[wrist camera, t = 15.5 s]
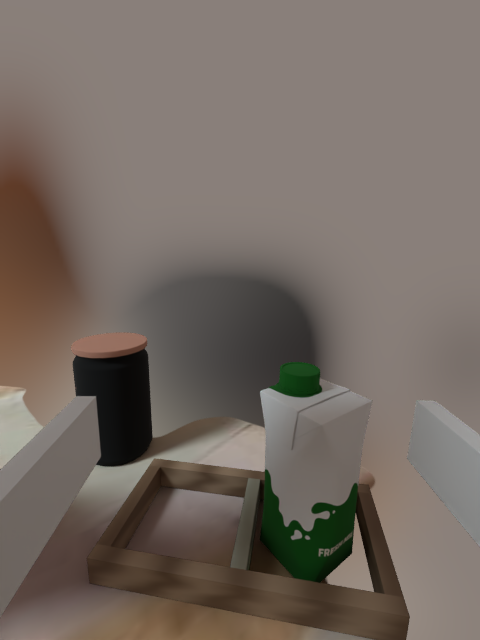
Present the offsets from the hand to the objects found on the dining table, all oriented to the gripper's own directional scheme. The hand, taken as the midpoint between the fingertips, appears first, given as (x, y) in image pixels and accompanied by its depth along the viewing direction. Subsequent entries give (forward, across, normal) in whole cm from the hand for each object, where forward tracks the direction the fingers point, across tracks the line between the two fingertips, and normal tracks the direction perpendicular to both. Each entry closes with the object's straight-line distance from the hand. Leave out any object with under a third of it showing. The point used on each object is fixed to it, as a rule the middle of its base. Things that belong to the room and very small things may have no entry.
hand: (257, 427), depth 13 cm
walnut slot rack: (+18, +1, -25) cm, 30 cm away
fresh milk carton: (+16, +7, -25) cm, 31 cm away
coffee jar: (+35, -19, -25) cm, 47 cm away
